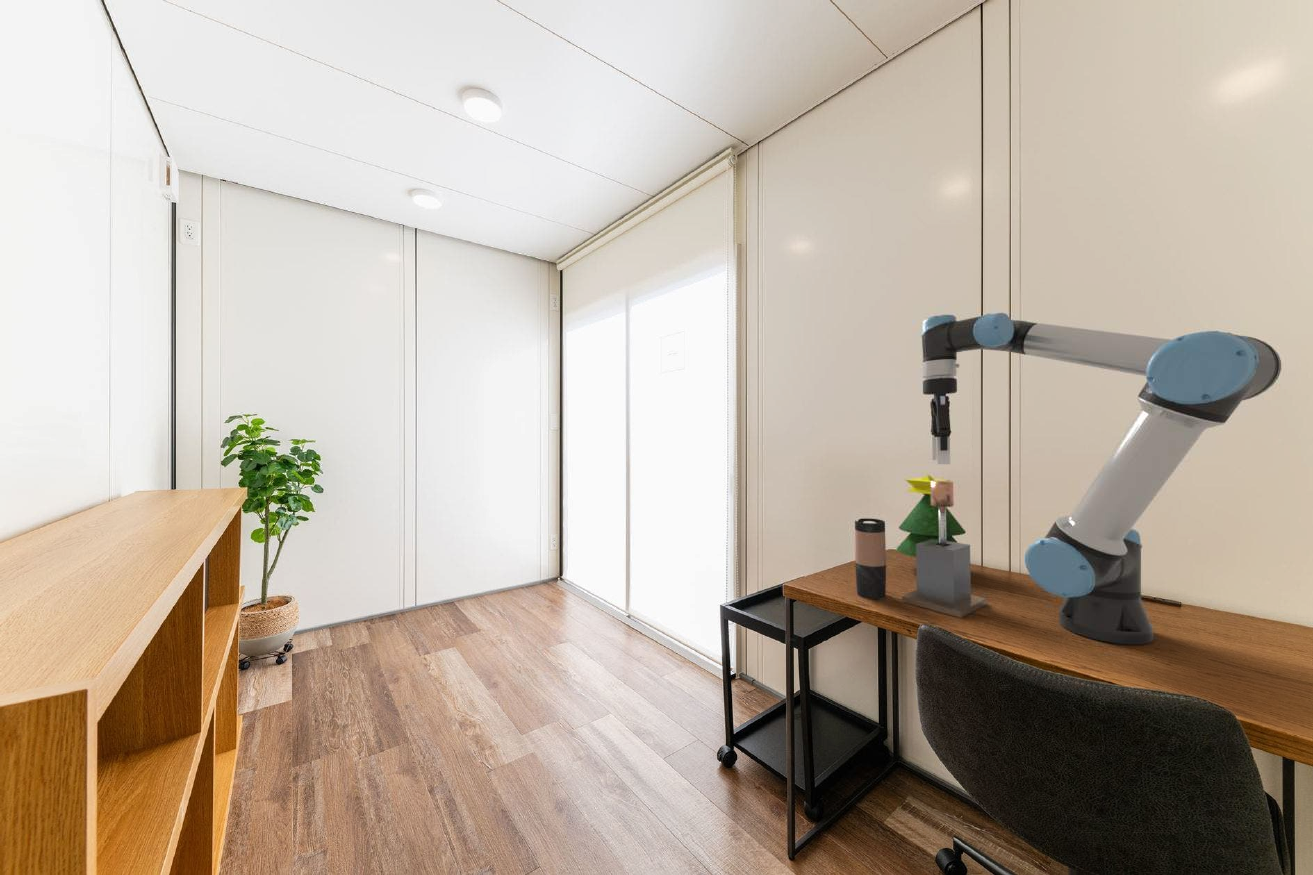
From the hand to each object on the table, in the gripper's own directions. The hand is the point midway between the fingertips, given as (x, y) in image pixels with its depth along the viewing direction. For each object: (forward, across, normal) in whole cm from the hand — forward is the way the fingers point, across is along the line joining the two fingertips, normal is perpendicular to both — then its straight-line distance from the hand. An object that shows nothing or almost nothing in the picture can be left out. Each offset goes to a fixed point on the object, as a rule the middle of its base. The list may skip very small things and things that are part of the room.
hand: (940, 462), depth 125 cm
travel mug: (+36, 0, +17) cm, 40 cm away
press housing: (+36, 0, 0) cm, 36 cm away
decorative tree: (+36, +29, 0) cm, 46 cm away
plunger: (+26, 0, 0) cm, 26 cm away
